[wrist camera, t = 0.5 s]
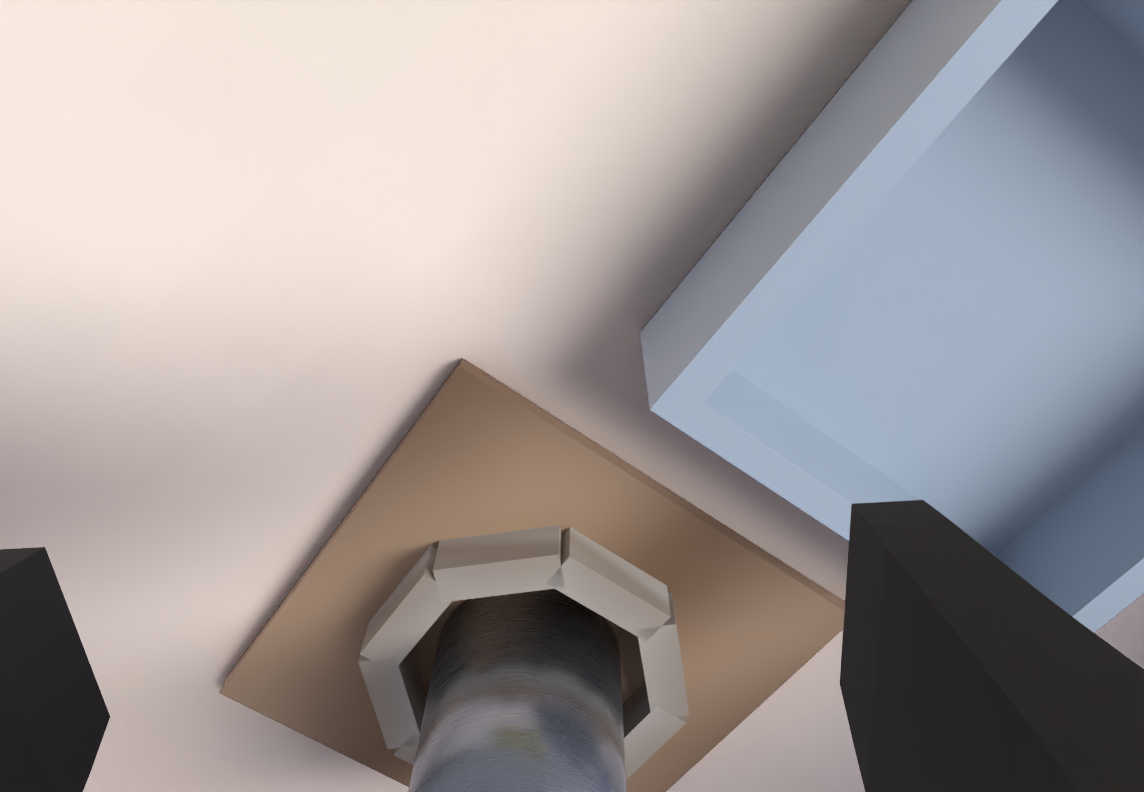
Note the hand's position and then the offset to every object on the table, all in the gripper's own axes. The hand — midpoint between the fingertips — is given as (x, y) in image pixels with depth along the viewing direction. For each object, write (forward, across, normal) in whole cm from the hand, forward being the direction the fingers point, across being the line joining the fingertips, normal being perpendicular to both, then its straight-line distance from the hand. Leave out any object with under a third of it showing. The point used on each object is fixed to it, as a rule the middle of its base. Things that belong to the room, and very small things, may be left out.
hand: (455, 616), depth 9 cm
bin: (+10, -9, +1) cm, 13 cm away
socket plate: (+10, +1, +9) cm, 13 cm away
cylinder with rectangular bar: (+10, +1, +9) cm, 13 cm away
